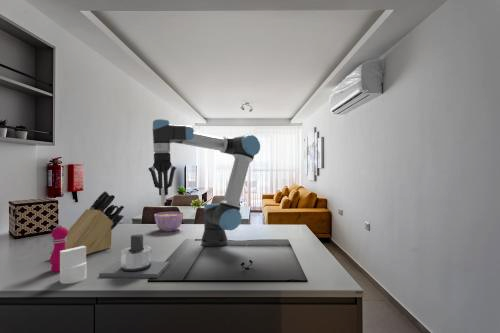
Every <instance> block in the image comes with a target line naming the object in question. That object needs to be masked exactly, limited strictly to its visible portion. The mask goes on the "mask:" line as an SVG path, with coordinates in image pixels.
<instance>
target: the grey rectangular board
mask: <svg viewBox="0 0 500 333" xmlns="http://www.w3.org/2000/svg"><path fill="white" fill-rule="evenodd" d="M170 262H171V261H153V260H152V263H151V267H150V268H148V269H146V270H143V271H139V272H124V271H122V270H121V260H118V261H116V262H115V263H113V264H111V265H110V266H108V267H107V268H105V269H103V270H102V271H101V272H99V273H98V274H99V276H98V277H99V278H141V279H142V278H145V279H147V278H148V279H149V278H150V279H151V278H152V279H156V278H159V277H160V276H161V275H162V274H163V273H164V272H163V271H166V270H167V268H168V267H170ZM162 272H163V273H162Z"/></svg>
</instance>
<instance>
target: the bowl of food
mask: <svg viewBox="0 0 500 333" xmlns="http://www.w3.org/2000/svg"><path fill="white" fill-rule="evenodd" d="M153 217H154V220H155V224H156V227H157V228H158V229H159V230H161V231H162V232H167V233H169V232H174V231H176V230H177V229H178V228H180V227H181V225H182V221H183V217H184V212H181V211H163V212H158V213H154V216H153Z"/></svg>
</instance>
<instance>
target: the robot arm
mask: <svg viewBox="0 0 500 333" xmlns="http://www.w3.org/2000/svg"><path fill="white" fill-rule="evenodd" d="M152 141H153V164H152V166H150V167H148V171H149V172H150V175H151V179H152V182H153V186H154V188H156V189H158V195H159V196H160V198H161V199H160V200H161V203H163V204H164V203H167V196H168V195H169V188H171V187H172V185H173V180H174V177H175V176H174V175H175V172H176V170H177V166H174V165H173V164H172V161H171V144H172V143H174V144H179V145H180V144H181V145H184V146H185V145H186V146H191V147H192V146H193V147H198V148H203V149H209V150H215V151H218V152H220V153H222V154H228V155H231V156H233V158H234V161H233V165H232V168H231V172H230V176H229V179H228V182H227V186H226V191H225V194H224V197H223V198H224V199H223V200H221V201H220V202H219V203H210V204H209V203H207V204H205V205H204V206H203V207H204V208H203V212H204V214H203V215H204V218H203V220H204V221H203V223H204V225H203V226H204V227H203V228H204V229H203V230H204V231H203V233H202V236H201V241H200V242H201V243H202V244H203V246H204V247H220V246H221V247H222V246H225V245H227V244H228V237H227V232H226V231H233V230H235V229H237V228H238V227H239V226H240V225H241V223H242V219H243V218H242V217H243V216H242V214H241V206H240V205H239V204H240V200H241V196H242V193H243V189H244V185H245V183H246V182H245V181H246V177H247V173H248V171H249V166H250V163H252V162H253V161H254V158H255V156H256V155H258V154H259V153H260V150H261V143H260V141H259V138H257V137H256V136H255V135H253V134H245V135H240V136H239V135H238V136H233V137H232V136H228V137H227V136H222V137H219V136H214V135H210V134H209V135H208V134H206V133H205V134H204V133H199V132H195V130H194V127H193V126H191V125H187V124H182V125H181V124H170V120H169V119H163V118H160V119H159V118H157V119H154V120H153V121H152ZM169 170H170V172H169ZM156 171H157V173H156ZM168 173H169V175H168ZM168 176H169V177H168ZM201 243H200V244H201ZM202 244H201V245H202Z"/></svg>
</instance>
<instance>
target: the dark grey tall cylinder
mask: <svg viewBox="0 0 500 333" xmlns="http://www.w3.org/2000/svg"><path fill="white" fill-rule="evenodd" d="M143 246H144V234H140V233H137V234H133V235H130V247H131V252H138V251H142V250H143Z"/></svg>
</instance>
